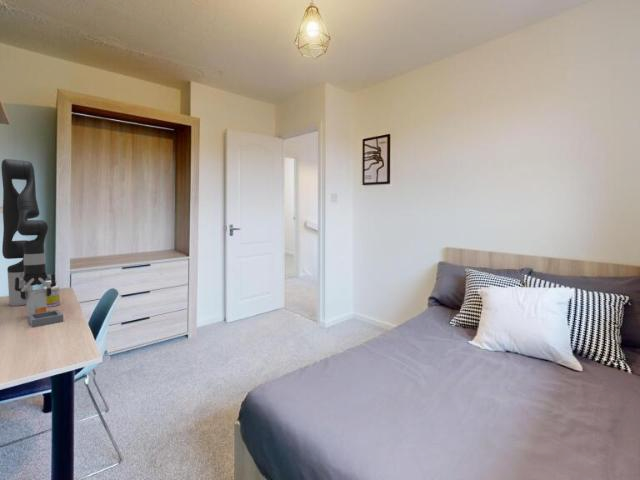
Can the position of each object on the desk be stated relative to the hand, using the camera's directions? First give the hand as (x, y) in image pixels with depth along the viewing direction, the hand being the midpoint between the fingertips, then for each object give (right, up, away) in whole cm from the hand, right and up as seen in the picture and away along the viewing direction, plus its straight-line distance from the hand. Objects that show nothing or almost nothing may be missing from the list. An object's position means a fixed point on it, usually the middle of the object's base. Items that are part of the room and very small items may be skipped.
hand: (36, 297), depth 150 cm
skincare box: (0, -9, +1) cm, 9 cm away
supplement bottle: (-7, -7, +17) cm, 20 cm away
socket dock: (+10, -9, -7) cm, 15 cm away
